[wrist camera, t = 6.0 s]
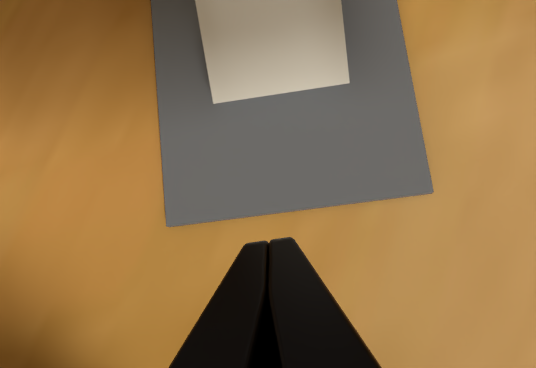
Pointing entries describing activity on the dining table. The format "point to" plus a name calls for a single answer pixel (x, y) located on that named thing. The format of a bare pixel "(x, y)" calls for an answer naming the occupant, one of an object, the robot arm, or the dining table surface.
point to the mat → (287, 126)
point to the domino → (272, 46)
